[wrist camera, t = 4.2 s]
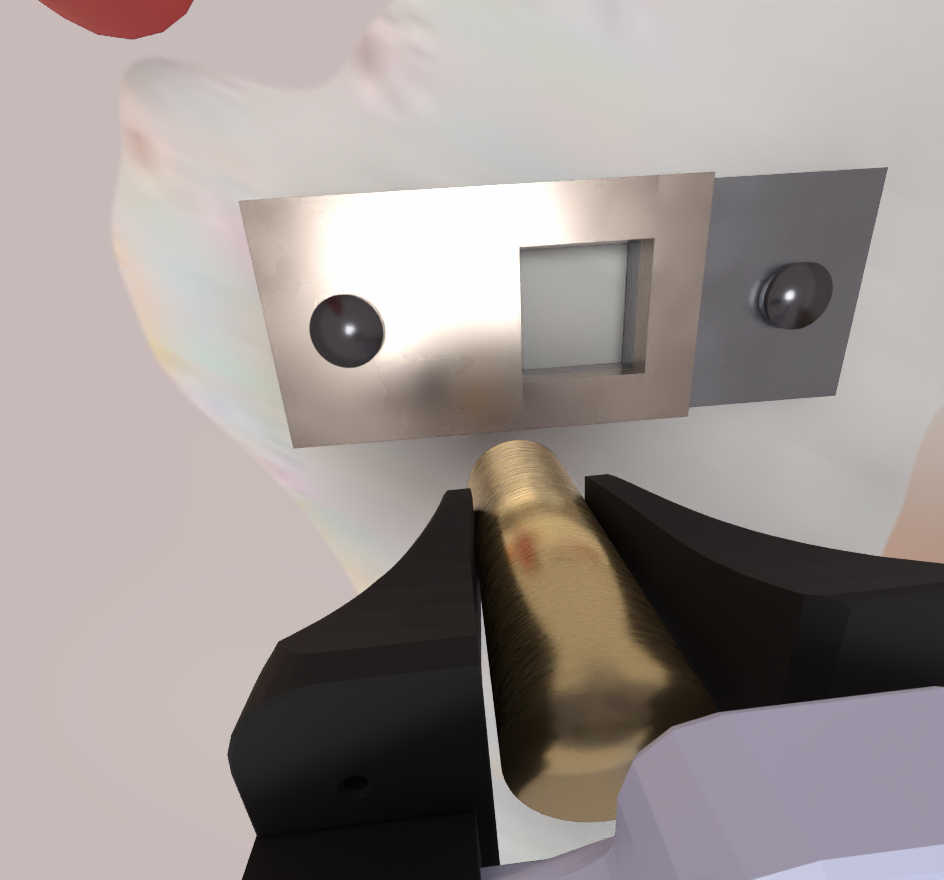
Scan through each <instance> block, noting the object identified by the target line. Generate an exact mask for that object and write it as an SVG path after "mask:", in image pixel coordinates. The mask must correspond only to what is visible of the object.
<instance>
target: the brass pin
mask: <svg viewBox="0 0 944 880" xmlns="http://www.w3.org/2000/svg"><path fill="white" fill-rule="evenodd" d="M468 488H471V492H472V498H473V509H474V519H475V530H476V561H477V569H478V577H479V586H480V594H481V602H482V610H483V619H484V627H485V635H486V644H487V652H488V660H489V668H490V677H491V685H492V693H493V702H494V710H495V718H496V726H497V735H498V743H499V751H500V759H501V768H502V773H503V776H504V779H505V782H506V783H507V785H508V787H509V789H510V790H511V791H512V793H513V794H514V795H515V796H516V797H517V798H518V799H519V800H520V801H521V802H522V803H524V804H525V805H527V806H528V807H530V808H531V809H533V810H535V811H537V812H539V813H541V814H544V815H547V816H550V817H553V818H557V819H561V820H566V821H574V822H604V821H611V820H616V813H617V796H618V794H619V792H620V789H621V787H622V785H623V783H624V780H625V778H626V776H627V774H628V771H629V769H630V767H631V764H632V762H633V760H634V758H635V756H636V754H637V753H638V752H640V751H641V750H642V749H644V748H645V747H646V746H647V745H649V744H650V743H651V742H653V741H654V740H655V739H656V738H658V737H659V736H660V735H662V734H663V733H664V732H665V731H667V730H668V729H669V728H671V727H672V726H675V725H678V724H682V723H685V722H688V721H692V720H695V719H698V718H701V717H705V716H708V715H711V714H714V713H718V710H717V708H716V706H715V704H714V702H713V700H712V699H711V697H710V696H709V694H708V692H707V691H706V689H705V688H704V686H703V685H702V683H701V682H700V680H699V678H698V677H697V675H696V674H695V672H694V671H693V669H692V667H691V666H690V664H689V663H688V661H687V660H686V658H685V657H684V655H683V653H682V652H681V650H680V649H679V647H678V646H677V644H676V642H675V641H674V639H673V638H672V636H671V635H670V633H669V632H668V630H667V628H666V627H665V625H664V624H663V622H662V621H661V619H660V617H659V616H658V614H657V613H656V611H655V610H654V608H653V606H652V605H651V603H650V602H649V600H648V599H647V597H646V596H645V594H644V592H643V591H642V589H641V588H640V586H639V585H638V583H637V581H636V580H635V578H634V577H633V575H632V574H631V572H630V571H629V569H628V567H627V566H626V564H625V563H624V561H623V560H622V558H621V556H620V555H619V553H618V552H617V550H616V549H615V547H614V546H613V544H612V542H611V541H610V539H609V538H608V536H607V535H606V533H605V531H604V530H603V528H602V527H601V525H600V524H599V522H598V520H597V519H596V517H595V516H594V514H593V513H592V511H591V510H590V508H589V506H588V505H587V503H586V502H585V500H584V499H583V497H582V495H581V494H580V492H579V491H578V489H577V488H576V486H575V485H574V483H573V481H572V480H571V478H570V477H569V475H568V474H567V472H566V470H565V469H564V467H563V466H562V464H561V463H560V461H559V460H558V458H557V457H556V456H555V455H554V454H553V453H552V452H551V451H550V450H549V449H548V448H546V447H544V446H543V445H540V444H538V443H535V442H532V441H526V440H513V441H508V442H504V443H501V444H498V445H496V446H494V447H492V448H491V449H489V450H488V451H486V452H485V453H484V454H483V455H482V456H481V457H480V458H479V459H478V460H477V462H476V463H475V465H474V466H473V468H472V470H471V473H470V476H469V480H468Z"/></svg>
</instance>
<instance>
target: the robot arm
mask: <svg viewBox="0 0 944 880" xmlns="http://www.w3.org/2000/svg"><path fill="white" fill-rule="evenodd" d="M585 502H586V503H587V505H588V506H589V508H590V510H591V511H592V513H593V514H594V516H595V517H596V519H597V520H598V522H599V524H600V525H601V527H602V528H603V530H604V531H605V533H606V535H607V536H608V538H609V539H610V541H611V542H612V544H613V546H614V547H615V549H616V550H617V552H618V553H619V555H620V556H621V558H622V560H623V561H624V563H625V564H626V566H627V567H628V569H629V571H630V572H631V574H632V575H633V577H634V578H635V580H636V581H637V583H638V585H639V586H640V588H641V589H642V591H643V592H644V594H645V596H646V597H647V599H648V600H649V602H650V603H651V605H652V606H653V608H654V610H655V611H656V613H657V614H658V616H659V617H660V619H661V621H662V622H663V624H664V625H665V627H666V628H667V630H668V632H669V633H670V635H671V636H672V638H673V639H674V641H675V642H676V644H677V646H678V647H679V649H680V650H681V652H682V653H683V655H684V657H685V658H686V660H687V661H688V663H689V664H690V666H691V667H692V669H693V671H694V672H695V674H696V675H697V677H698V678H699V680H700V682H701V683H702V685H703V686H704V688H705V689H706V691H707V692H708V694H709V696H710V697H711V699H712V700H713V702H714V704H715V706H716V708H717V710H718V713H714V714H711V715H708V716H705V717H701V718H698V719H695V720H692V721H688V722H685V723H682V724H678V725H675V726H672V727H671V728H669V729H668V730H667V731H665V732H664V733H663V734H662V735H660V736H659V737H658V738H656V739H655V740H654V741H653V742H651V743H650V744H649V745H647V746H646V747H645V748H644V749H642V750H641V751H640V752H638V753H637V754H636V756H635V758H634V760H633V762H632V764H631V767H630V769H629V771H628V774H627V776H626V778H625V780H624V783H623V785H622V787H621V789H620V792H619V794H618V796H617V813H616V832H615V835H614V836H613V837H610V838H607V839H604V840H601V841H598V842H595V843H593V844H590V845H587V846H584V847H581V848H578V849H576V850H573V851H570V852H567V853H564V854H561V855H559V856H556V857H553V858H550V859H545V860H537V861H530V862H522V863H514V864H506V865H500V860H499V850H498V840H497V830H496V820H495V809H494V799H493V789H492V779H491V769H490V758H489V748H488V738H487V728H486V718H485V707H484V697H483V687H482V671H481V594H480V586H479V577H478V569H477V561H476V530H475V519H474V509H473V498H472V492H471V488H467V489H458V490H448V491H447V492H446V493H445V494H444V496H443V498H442V501H441V503H440V505H439V507H438V508H437V510H436V512H435V514H434V515H433V517H432V518H431V520H430V522H429V523H428V525H427V526H426V528H425V529H424V531H423V532H422V533H421V535H420V536H419V537H418V539H417V540H416V541H415V543H414V544H413V545H412V547H411V548H410V549H409V550H408V551H407V553H406V554H405V555H404V556H403V557H402V558H401V559H400V560H399V561H398V562H397V563H396V564H395V565H394V566H393V567H392V568H391V569H390V570H389V571H388V572H387V573H386V574H384V575H383V576H382V577H381V578H380V579H378V580H377V581H376V582H375V583H373V584H372V585H371V586H370V587H369V588H367V589H366V590H365V591H364V592H362V593H361V594H359V595H358V596H357V597H356V598H354V599H353V600H351V601H350V602H348V603H346V604H345V605H344V606H342V607H340V608H339V609H337V610H336V611H334V612H332V613H331V614H329V615H327V616H326V617H324V618H322V619H321V620H319V621H317V622H315V623H314V624H311V625H310V626H308V627H306V628H304V629H302V630H300V631H298V632H296V633H295V634H293V635H291V636H289V637H287V638H285V639H283V640H281V641H279V642H278V643H277V645H276V647H275V649H274V651H273V652H272V654H271V656H270V658H269V659H268V661H267V662H266V664H265V666H264V667H263V669H262V671H261V673H260V675H259V677H258V679H257V681H256V683H255V685H254V687H253V690H252V692H251V694H250V696H249V698H248V700H247V702H246V704H245V707H244V709H243V711H242V713H241V715H240V717H239V720H238V722H237V724H236V726H235V729H234V730H233V733H232V735H231V740H230V744H229V749H228V760H229V765H230V770H231V774H232V776H233V779H234V781H235V784H236V786H237V788H238V791H239V793H240V796H241V798H242V801H243V803H244V805H245V808H246V810H247V813H248V815H249V818H250V820H251V822H252V825H253V827H254V829H255V832H256V835H257V836H256V839H255V842H254V845H253V848H252V851H251V854H250V857H249V860H248V863H247V866H246V869H245V872H244V875H243V878H242V880H944V564H942V563H933V562H924V561H915V560H906V559H897V558H888V557H880V556H873V555H866V554H860V553H854V552H848V551H842V550H836V549H830V548H825V547H820V546H815V545H810V544H805V543H801V542H796V541H792V540H788V539H784V538H779V537H775V536H771V535H767V534H763V533H760V532H756V531H752V530H749V529H746V528H742V527H739V526H736V525H733V524H730V523H726V522H723V521H720V520H717V519H714V518H712V517H709V516H706V515H703V514H701V513H698V512H696V511H693V510H691V509H688V508H686V507H683V506H681V505H678V504H676V503H674V502H671V501H669V500H667V499H664V498H662V497H660V496H658V495H655V494H653V493H651V492H649V491H647V490H645V489H642V488H640V487H638V486H636V485H634V484H632V483H629V482H627V481H625V480H623V479H620V478H618V477H615V476H612V475H609V474H604V475H594V476H585Z"/></svg>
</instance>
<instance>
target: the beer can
mask: <svg viewBox="0 0 944 880" xmlns="http://www.w3.org/2000/svg"><path fill="white" fill-rule="evenodd" d="M39 1H40V2H42V3H43V4H44V5H46V6H47V7H49V8H50V9H52V10H53V11H55V12H56V13H57V14H59V15H60V16H62V17H63V18H65V19H67V20H70V21H71V22H73V23H75V24H77V25H79V26H81V27H83V28H85V29H87V30H89V31H92V32H94V33H96V34H98V35H104V36H111V37H118V38H126V39H137V38H141V37H145V36H148V35H153V34H156V33H161V32H164V31H165V30H166V29H167V28H169V27H170V26H171V25H172V24H174V23H175V22H176V21H177V20H179V19H180V18H181V17H182V16H184V15H185V14H186V13H187V11H188V9H189V7H190V6H191V4H192V2H193V0H39Z"/></svg>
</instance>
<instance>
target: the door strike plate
mask: <svg viewBox="0 0 944 880" xmlns="http://www.w3.org/2000/svg"><path fill="white" fill-rule="evenodd" d="M887 169H888V167H886V168H870V169H854V170H838V171H821V172H805V173H789V174H773V175H757V176H740V177H724V178H715V172H703V173H686V174H670V175H654V176H637V177H621V178H605V179H588V180H572V181H556V182H539V183H523V184H507V185H490V186H474V187H458V188H441V189H425V190H409V191H392V192H376V193H360V194H343V195H327V196H310V197H294V198H278V199H261V200H245V201H239V205H240V210H241V214H242V219H243V223H244V228H245V232H246V237H247V241H248V246H249V250H250V255H251V259H252V264H253V268H254V273H255V277H256V282H257V286H258V291H259V295H260V300H261V304H262V309H263V313H264V318H265V322H266V327H267V331H268V336H269V340H270V345H271V350H272V354H273V359H274V363H275V368H276V372H277V377H278V381H279V386H280V390H281V395H282V399H283V404H284V408H285V413H286V417H287V422H288V426H289V431H290V435H291V440H292V444H293V448H304V447H317V446H329V445H341V444H353V443H366V442H378V441H390V440H403V439H415V438H427V437H439V436H452V435H464V434H476V433H489V432H501V431H513V430H525V429H538V428H550V427H562V426H575V425H587V424H599V423H611V422H624V421H636V420H648V419H661V418H673V417H685V416H688V410H689V407H698V406H711V405H723V404H736V403H748V402H760V401H773V400H785V399H798V398H810V397H822V396H835V394H836V390H837V386H838V381H839V377H840V373H841V368H842V364H843V360H844V355H845V351H846V347H847V342H848V338H849V334H850V329H851V325H852V321H853V316H854V312H855V308H856V303H857V299H858V295H859V290H860V286H861V282H862V277H863V273H864V269H865V264H866V260H867V256H868V251H869V247H870V243H871V238H872V234H873V230H874V225H875V221H876V217H877V212H878V208H879V204H880V199H881V195H882V191H883V186H884V182H885V178H886V173H887ZM624 243H629V244H628V263H627V281H626V299H625V317H624V335H623V354H622V363H611V364H598V365H585V366H572V367H559V368H546V369H533V370H522V347H521V306H520V266H519V250H534V249H549V248H564V247H579V246H594V245H609V244H624Z"/></svg>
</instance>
